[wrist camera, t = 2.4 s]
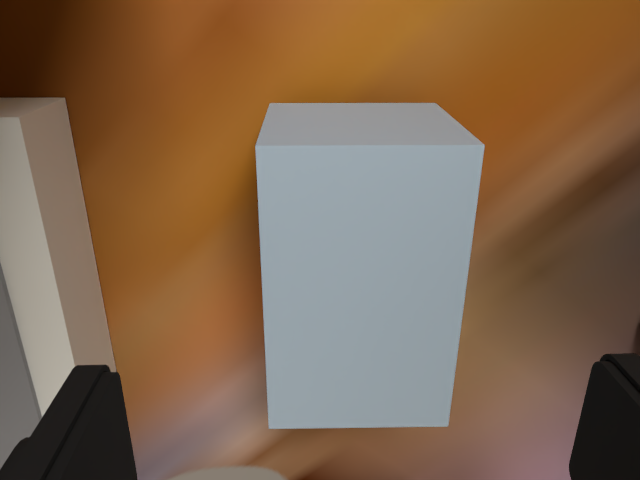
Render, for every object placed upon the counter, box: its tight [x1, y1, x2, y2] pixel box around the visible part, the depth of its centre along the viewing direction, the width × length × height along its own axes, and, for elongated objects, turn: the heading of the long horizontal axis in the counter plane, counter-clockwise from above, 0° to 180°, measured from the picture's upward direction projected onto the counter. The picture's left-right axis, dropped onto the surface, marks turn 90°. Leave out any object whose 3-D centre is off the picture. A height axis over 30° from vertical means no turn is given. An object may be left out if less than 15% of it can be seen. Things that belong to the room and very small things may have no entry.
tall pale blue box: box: [255, 103, 485, 429], centre depth 16 cm, size 8×5×6 cm, turn 0°
